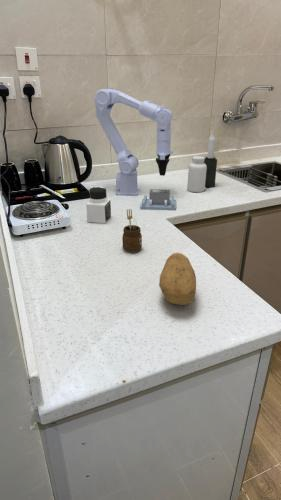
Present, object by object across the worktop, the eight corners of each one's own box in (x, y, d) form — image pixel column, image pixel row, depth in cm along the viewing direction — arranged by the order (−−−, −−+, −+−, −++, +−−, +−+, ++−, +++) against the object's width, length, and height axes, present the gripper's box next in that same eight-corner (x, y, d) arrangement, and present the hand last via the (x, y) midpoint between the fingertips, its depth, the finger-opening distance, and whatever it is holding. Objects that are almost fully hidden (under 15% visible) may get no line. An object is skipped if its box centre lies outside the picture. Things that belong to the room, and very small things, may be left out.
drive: (149, 204, 143) (149, 192, 141) (150, 201, 147) (150, 189, 145) (169, 205, 142) (169, 193, 140) (169, 201, 146) (170, 189, 144)
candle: (200, 185, 170) (204, 130, 159) (209, 184, 172) (214, 130, 161) (206, 188, 166) (211, 132, 155) (215, 186, 168) (220, 131, 156)
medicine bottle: (106, 223, 128) (104, 191, 123) (87, 222, 130) (84, 190, 124) (111, 216, 134) (110, 185, 129) (93, 215, 136) (91, 184, 130)
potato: (156, 315, 80) (157, 280, 76) (161, 279, 94) (162, 247, 90) (195, 317, 79) (198, 282, 75) (194, 281, 93) (196, 249, 89)
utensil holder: (125, 254, 107) (124, 217, 101) (120, 245, 112) (119, 209, 107) (144, 252, 108) (144, 215, 103) (138, 243, 114) (138, 207, 108)
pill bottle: (206, 192, 160) (208, 159, 153) (188, 192, 160) (190, 159, 153) (203, 187, 167) (206, 155, 160) (186, 187, 167) (188, 155, 160)
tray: (140, 209, 141) (140, 200, 140) (142, 200, 150) (142, 192, 149) (175, 210, 140) (175, 201, 139) (175, 201, 149) (176, 193, 147)
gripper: (172, 143, 140) (171, 177, 146) (173, 137, 152) (172, 168, 159) (154, 143, 140) (154, 177, 146) (157, 137, 153) (156, 168, 159)
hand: (162, 173), depth 153 cm, fingers open, 7 cm apart
